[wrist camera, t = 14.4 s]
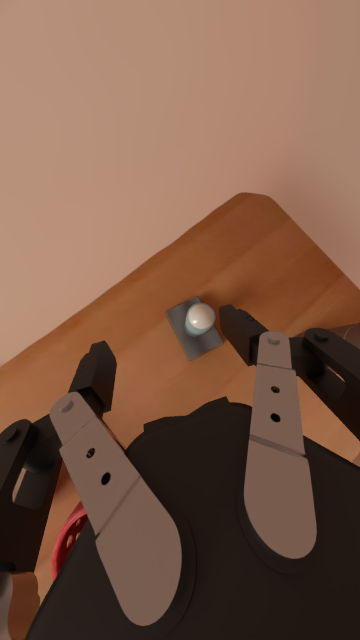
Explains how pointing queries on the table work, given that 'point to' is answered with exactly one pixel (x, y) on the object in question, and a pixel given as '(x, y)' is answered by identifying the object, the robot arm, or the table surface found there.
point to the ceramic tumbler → (199, 319)
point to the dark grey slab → (190, 344)
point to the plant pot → (68, 532)
